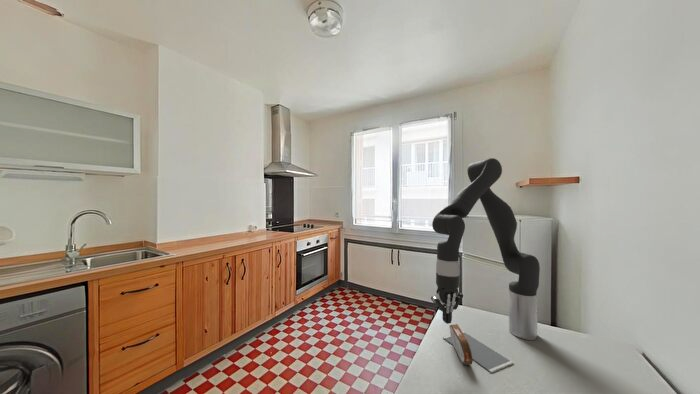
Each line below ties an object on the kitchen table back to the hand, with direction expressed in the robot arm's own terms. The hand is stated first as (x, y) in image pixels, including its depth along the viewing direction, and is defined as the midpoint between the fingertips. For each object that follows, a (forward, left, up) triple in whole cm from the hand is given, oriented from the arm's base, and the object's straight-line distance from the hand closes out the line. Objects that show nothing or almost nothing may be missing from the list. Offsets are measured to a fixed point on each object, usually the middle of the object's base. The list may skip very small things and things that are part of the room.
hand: (447, 322), depth 81 cm
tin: (-6, 0, -13) cm, 14 cm away
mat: (-14, 0, -13) cm, 19 cm away
